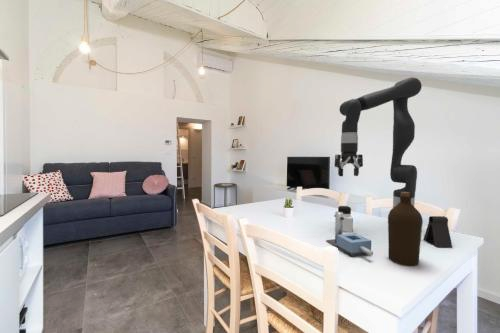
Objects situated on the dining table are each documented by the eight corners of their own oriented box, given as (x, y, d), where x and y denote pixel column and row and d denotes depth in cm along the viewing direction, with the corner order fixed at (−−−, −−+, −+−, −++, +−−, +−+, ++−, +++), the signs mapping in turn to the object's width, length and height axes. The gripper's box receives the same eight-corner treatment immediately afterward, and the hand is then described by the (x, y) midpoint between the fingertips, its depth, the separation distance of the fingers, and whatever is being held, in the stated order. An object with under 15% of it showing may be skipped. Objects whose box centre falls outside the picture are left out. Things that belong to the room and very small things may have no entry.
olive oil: (392, 265, 86) (394, 194, 84) (382, 253, 96) (384, 189, 95) (426, 268, 84) (429, 195, 82) (413, 255, 94) (415, 190, 93)
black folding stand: (423, 240, 111) (424, 213, 110) (436, 240, 111) (438, 214, 110) (437, 247, 102) (438, 219, 101) (452, 248, 102) (453, 219, 101)
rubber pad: (339, 239, 111) (339, 238, 111) (350, 245, 104) (350, 244, 104) (326, 241, 109) (326, 240, 109) (336, 247, 102) (336, 245, 102)
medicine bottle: (352, 232, 122) (353, 208, 121) (337, 231, 123) (338, 207, 123) (350, 227, 129) (350, 205, 128) (335, 227, 130) (336, 204, 130)
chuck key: (345, 244, 104) (346, 213, 103) (339, 244, 103) (339, 214, 103) (337, 239, 109) (338, 211, 108) (332, 240, 108) (332, 211, 107)
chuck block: (354, 246, 104) (355, 233, 103) (381, 259, 90) (381, 245, 90) (336, 248, 101) (336, 235, 101) (360, 262, 88) (360, 247, 87)
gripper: (341, 141, 113) (340, 177, 113) (367, 142, 116) (366, 176, 117) (331, 142, 120) (331, 175, 121) (356, 142, 124) (355, 175, 125)
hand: (348, 176), depth 119 cm, fingers open, 8 cm apart
